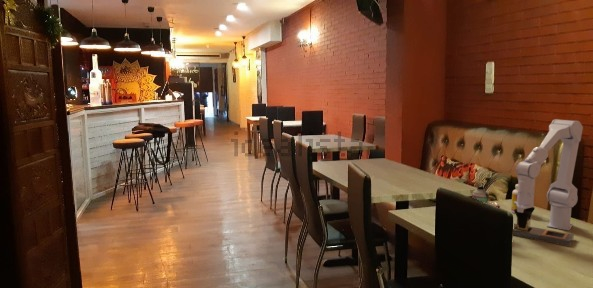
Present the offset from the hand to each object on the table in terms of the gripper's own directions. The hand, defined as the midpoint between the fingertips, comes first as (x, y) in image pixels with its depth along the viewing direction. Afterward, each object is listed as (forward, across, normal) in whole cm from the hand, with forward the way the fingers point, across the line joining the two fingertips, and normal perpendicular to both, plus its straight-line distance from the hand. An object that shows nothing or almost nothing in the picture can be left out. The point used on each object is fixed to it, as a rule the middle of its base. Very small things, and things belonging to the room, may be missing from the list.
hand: (523, 226), depth 177 cm
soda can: (+3, +9, -10) cm, 14 cm away
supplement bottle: (+3, -30, -8) cm, 31 cm away
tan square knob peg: (+3, 0, 0) cm, 3 cm away
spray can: (+3, +15, -12) cm, 20 cm away
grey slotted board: (+3, 0, +6) cm, 6 cm away
